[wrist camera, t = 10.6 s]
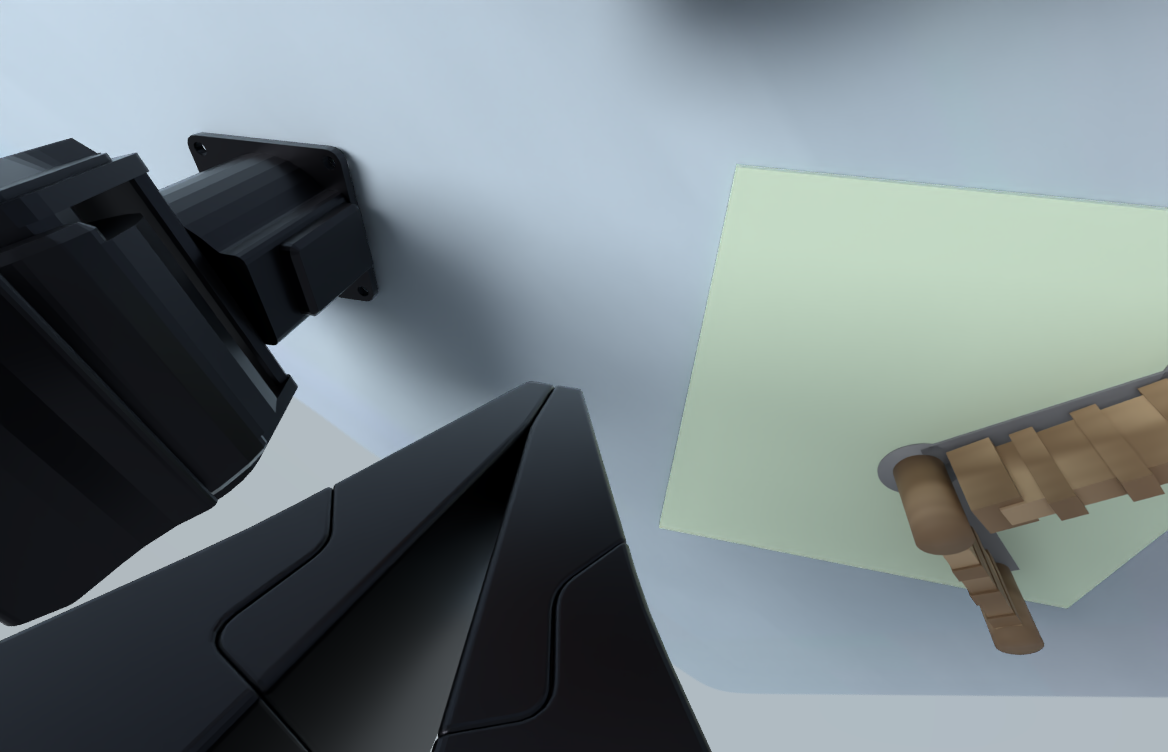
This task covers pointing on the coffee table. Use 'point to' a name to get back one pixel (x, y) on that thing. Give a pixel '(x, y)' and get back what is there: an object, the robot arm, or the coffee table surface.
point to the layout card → (912, 365)
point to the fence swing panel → (1069, 463)
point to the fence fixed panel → (964, 552)
